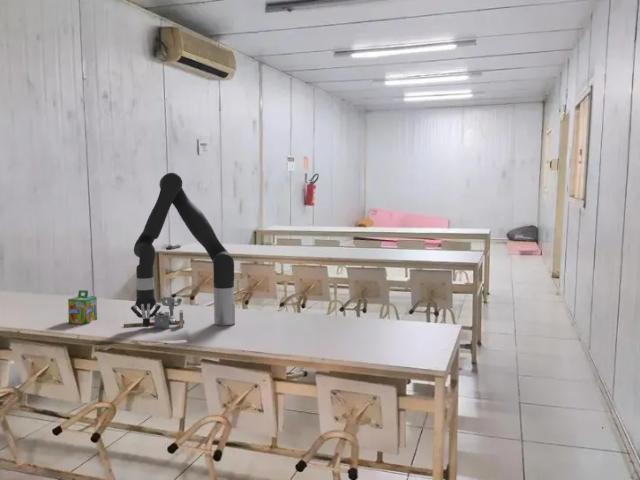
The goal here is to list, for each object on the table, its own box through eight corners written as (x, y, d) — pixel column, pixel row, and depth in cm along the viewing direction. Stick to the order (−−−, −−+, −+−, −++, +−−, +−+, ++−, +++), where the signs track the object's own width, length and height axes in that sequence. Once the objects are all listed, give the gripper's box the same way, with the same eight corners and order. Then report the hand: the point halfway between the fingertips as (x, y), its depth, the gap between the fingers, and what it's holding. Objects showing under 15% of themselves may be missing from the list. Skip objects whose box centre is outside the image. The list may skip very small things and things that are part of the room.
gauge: (176, 324, 238) (175, 309, 237) (176, 329, 229) (175, 313, 229) (155, 325, 235) (155, 310, 235) (154, 331, 227) (153, 315, 226)
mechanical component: (180, 319, 252) (179, 298, 251) (160, 318, 254) (159, 297, 253) (182, 317, 255) (182, 297, 254) (163, 316, 257) (162, 296, 256)
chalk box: (68, 323, 244) (66, 292, 242) (80, 319, 253) (79, 288, 251) (86, 324, 242) (84, 293, 241) (98, 319, 251) (96, 289, 250)
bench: (184, 325, 240) (184, 308, 240) (184, 331, 231) (184, 313, 230) (124, 329, 234) (123, 311, 233) (121, 335, 224) (120, 317, 224)
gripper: (161, 285, 235) (162, 323, 237) (130, 286, 232) (131, 325, 233) (160, 288, 228) (161, 327, 229) (128, 290, 224) (129, 329, 226)
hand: (146, 326), depth 231 cm, fingers closed
